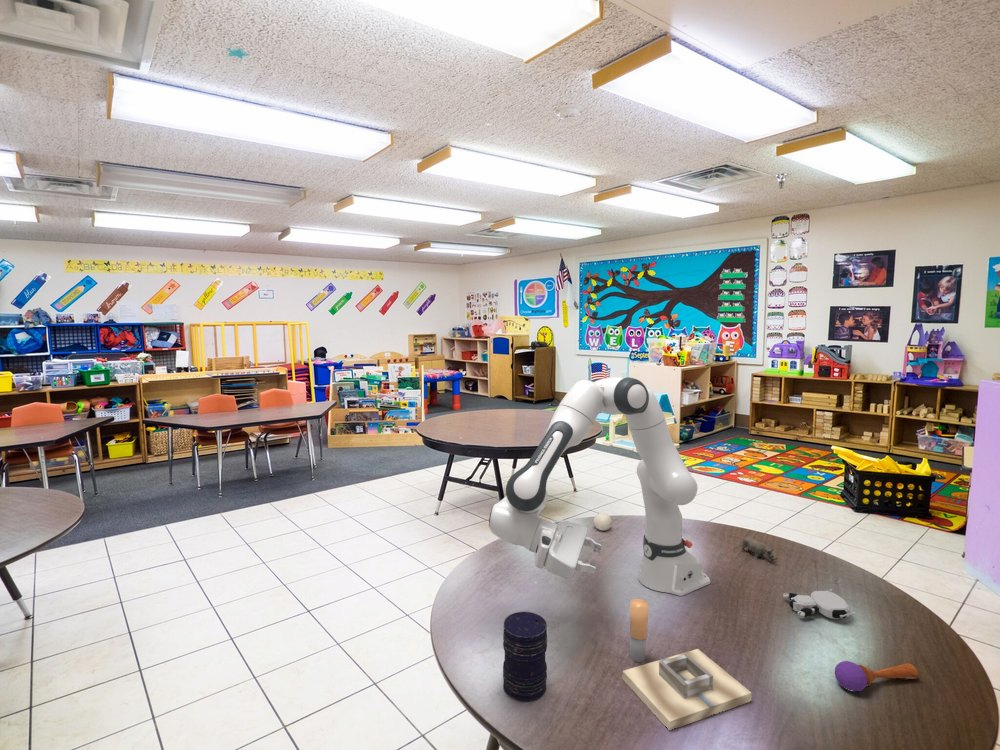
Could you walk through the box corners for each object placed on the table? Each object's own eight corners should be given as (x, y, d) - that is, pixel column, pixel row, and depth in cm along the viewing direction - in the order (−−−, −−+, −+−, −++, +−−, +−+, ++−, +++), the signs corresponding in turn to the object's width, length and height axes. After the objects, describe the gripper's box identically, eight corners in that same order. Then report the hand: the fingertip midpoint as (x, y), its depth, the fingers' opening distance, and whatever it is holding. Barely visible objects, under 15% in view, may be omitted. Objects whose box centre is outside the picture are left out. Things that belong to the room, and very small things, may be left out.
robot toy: (799, 626, 138) (858, 626, 137) (799, 610, 138) (858, 610, 136) (780, 602, 151) (833, 601, 149) (779, 587, 150) (833, 587, 148)
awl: (639, 650, 126) (641, 597, 125) (650, 660, 123) (652, 606, 121) (625, 654, 125) (627, 600, 123) (635, 664, 121) (637, 609, 120)
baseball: (598, 524, 206) (598, 508, 206) (614, 529, 202) (614, 513, 201) (589, 529, 201) (590, 513, 200) (606, 534, 196) (606, 518, 196)
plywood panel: (697, 656, 124) (698, 637, 124) (751, 701, 109) (752, 679, 109) (622, 678, 116) (622, 658, 116) (669, 730, 101) (670, 707, 101)
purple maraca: (928, 671, 113) (854, 677, 109) (919, 692, 115) (846, 699, 111) (903, 650, 119) (832, 655, 115) (894, 670, 121) (825, 676, 116)
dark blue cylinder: (514, 708, 107) (514, 642, 106) (495, 678, 116) (496, 617, 115) (554, 694, 111) (555, 630, 110) (534, 667, 120) (534, 607, 119)
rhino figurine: (772, 567, 170) (773, 550, 169) (738, 551, 183) (739, 535, 182) (780, 565, 172) (781, 548, 171) (746, 549, 184) (747, 533, 184)
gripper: (553, 529, 142) (600, 547, 138) (534, 570, 123) (588, 593, 120) (558, 510, 140) (607, 528, 137) (540, 549, 121) (595, 571, 118)
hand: (598, 559), depth 128 cm, fingers open, 8 cm apart
